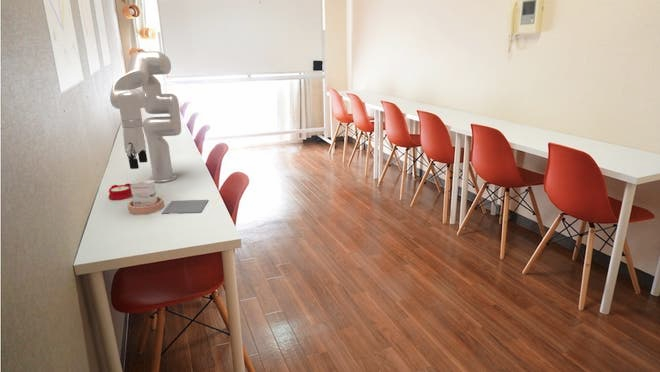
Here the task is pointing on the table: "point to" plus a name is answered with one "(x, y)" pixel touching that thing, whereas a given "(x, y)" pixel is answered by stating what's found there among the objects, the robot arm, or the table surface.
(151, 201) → the ink box
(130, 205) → the copper faceted ring
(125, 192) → the alarm clock
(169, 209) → the mat
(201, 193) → the table surface
